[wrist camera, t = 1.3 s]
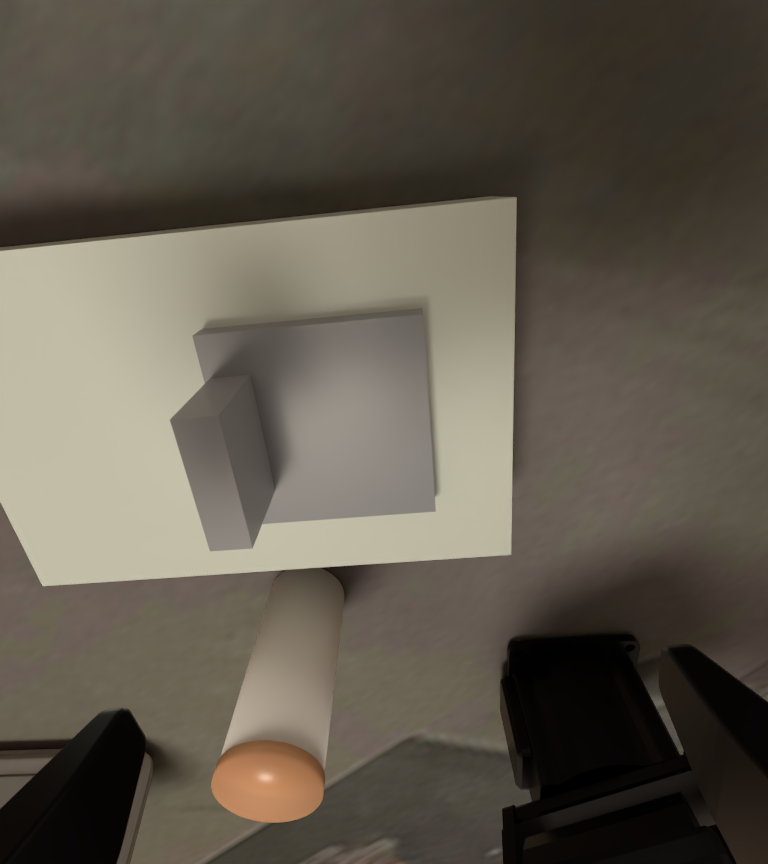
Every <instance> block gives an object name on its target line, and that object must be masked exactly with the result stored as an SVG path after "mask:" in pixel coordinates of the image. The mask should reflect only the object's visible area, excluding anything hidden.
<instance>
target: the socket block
mask: <svg viewBox="0 0 768 864" xmlns="http://www.w3.org/2000/svg"><path fill="white" fill-rule="evenodd" d="M516 214H517V197H497V196H488V197H478V198H469V199H459V200H449V201H440V202H430V203H421V204H411V205H402V206H392V207H382V208H373V209H363V210H354V211H344V212H335V213H325V214H316V215H306V216H296V217H287V218H277V219H268V220H258V221H249V222H239V223H229V224H220V225H210V226H201V227H191V228H182V229H172V230H163V231H153V232H143V233H134V234H124V235H115V236H105V237H96V238H86V239H76V240H67V241H57V242H48V243H38V244H29V245H19V246H10V247H0V502H1V504H2V506H3V508H4V510H5V512H6V514H7V516H8V518H9V520H10V522H11V524H12V526H13V528H14V530H15V532H16V534H17V536H18V538H19V540H20V542H21V544H22V546H23V548H24V550H25V552H26V554H27V556H28V558H29V560H30V562H31V564H32V566H33V568H34V570H35V572H36V574H37V576H38V578H39V580H40V582H41V584H42V586H53V585H67V584H82V583H97V582H112V581H127V580H142V579H157V578H172V577H187V576H202V575H216V574H231V573H246V572H261V571H276V570H291V569H306V568H321V567H336V566H351V565H365V564H380V563H395V562H410V561H425V560H440V559H455V558H470V557H485V556H500V555H511V526H512V463H513V401H514V339H515V277H516ZM420 308H422V310H423V314H424V329H425V345H426V362H427V378H428V394H429V410H430V426H431V443H432V459H433V475H434V491H435V507H436V512H423V513H409V514H395V515H382V516H368V517H354V518H340V519H326V520H312V521H298V522H285V523H271V524H262V526H261V528H260V531H259V534H258V536H257V539H256V541H255V544H254V546H253V549H239V550H224V551H210V550H209V547H208V543H207V540H206V537H205V533H204V530H203V527H202V524H201V520H200V517H199V514H198V511H197V507H196V504H195V501H194V497H193V494H192V491H191V488H190V484H189V481H188V478H187V475H186V471H185V468H184V465H183V461H182V458H181V455H180V452H179V448H178V445H177V442H176V438H175V435H174V432H173V429H172V425H171V422H170V419H171V418H172V417H173V416H174V415H175V414H176V413H177V412H178V411H179V410H180V409H181V408H182V407H183V406H184V405H185V404H186V402H187V401H188V400H189V399H190V398H191V397H192V396H193V395H194V394H195V393H196V392H197V391H198V390H199V389H200V388H201V387H202V386H203V385H204V384H205V383H204V379H203V375H202V371H201V367H200V364H199V360H198V356H197V352H196V348H195V345H194V341H193V337H192V336H193V335H194V334H195V333H197V332H198V331H200V330H201V329H206V328H217V327H228V326H238V325H249V324H260V323H271V322H281V321H292V320H303V319H313V318H324V317H335V316H345V315H356V314H367V313H377V312H388V311H399V310H409V309H420Z"/></svg>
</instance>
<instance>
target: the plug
mask: <svg viewBox="0 0 768 864" xmlns="http://www.w3.org/2000/svg"><path fill="white" fill-rule="evenodd" d="M344 597H345V595H344V589H343V587H342V585H341V583H340V581H339V580H338V579H337V578H336V577H335V576H334V575H332V574H331V573H330V572H328V571H326V570H324V569H321V568H306V569H291V570H286V571H284V572H282V573H281V574H280V575H279V576H278V577H277V578H276V579H275V581H274V583H273V585H272V588H271V592H270V595H269V598H268V602H267V605H266V608H265V612H264V615H263V618H262V622H261V625H260V628H259V631H258V635H257V638H256V641H255V645H254V648H253V651H252V655H251V658H250V661H249V664H248V668H247V671H246V674H245V678H244V681H243V684H242V688H241V691H240V694H239V698H238V701H237V704H236V707H235V711H234V714H233V717H232V721H231V724H230V727H229V731H228V734H227V737H226V740H225V744H224V747H223V750H222V754H221V757H220V758H219V760H218V762H217V765H216V768H215V772H214V775H213V778H212V783H211V788H212V792H213V794H214V796H215V798H216V799H217V801H218V802H219V803H220V804H221V805H222V806H223V807H225V808H226V809H227V810H229V811H231V812H232V813H234V814H236V815H239V816H241V817H244V818H247V819H250V820H255V821H261V822H287V821H293V820H297V819H300V818H302V817H305V816H307V815H309V814H310V813H312V812H313V811H314V810H315V809H317V807H318V806H319V805H320V803H321V801H322V798H323V792H324V783H325V772H324V771H325V762H326V753H327V745H328V736H329V727H330V719H331V710H332V701H333V693H334V684H335V675H336V667H337V658H338V649H339V641H340V632H341V623H342V615H343V606H344Z"/></svg>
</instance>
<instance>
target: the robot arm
mask: <svg viewBox="0 0 768 864" xmlns="http://www.w3.org/2000/svg"><path fill="white" fill-rule="evenodd" d="M639 650H640V644H639V643H638V641H637V639H636V638H635V636H633V635H628V634H627V635H610V636H592V637H575V638H558V639H541V640H524V641H514V642H512V643H510V644H509V646H508V650H507V676H504V677H503V678H502V679H501V681H500V711H501V716H502V721H503V726H504V730H505V735H506V740H507V745H508V749H509V754H510V759H511V764H512V768H513V773H514V778H515V783H516V785H517V786H518V787H519V788H520V789H521V790H530V794H531V799H532V802H530V803H527V804H524V805H520V806H517V807H515V806H514V805H512V806H509V807H506V808H503V809H502V815H503V829H502V845H503V864H768V702H767V701H766V700H765V699H763V698H762V697H761V696H759V695H758V694H757V693H755V692H754V691H753V690H751V689H750V688H749V687H747V686H746V685H745V684H743V683H742V682H741V681H739V680H738V679H737V678H735V677H734V676H733V675H731V674H730V673H729V672H727V671H726V670H725V669H723V668H722V667H721V666H719V665H718V664H717V663H715V662H714V661H713V660H711V659H710V658H709V657H707V656H706V655H705V654H703V653H702V652H701V651H699V650H698V649H697V648H695V647H693V646H691V645H689V644H680V645H672V646H665V647H664V648H663V649H662V651H661V658H660V670H659V688H660V692H661V695H662V698H663V700H664V703H665V705H666V708H667V710H668V713H669V715H670V717H671V720H672V722H673V725H674V727H675V730H676V732H677V735H678V737H679V740H680V742H681V744H682V747H683V749H684V752H683V753H684V754H683V755H680V753H679V751H678V750H677V748H676V746H675V744H674V742H673V740H672V738H671V736H670V734H669V732H668V730H667V728H666V726H665V724H664V722H663V720H662V718H661V716H660V715H659V713H658V711H657V709H656V707H655V705H654V703H653V701H652V699H651V697H650V695H649V693H648V691H647V689H646V687H645V685H644V683H643V681H642V680H641V678H640V676H639V674H638V672H637V670H636V668H637V662H638V656H639ZM145 752H146V738H145V735H144V733H143V731H142V730H141V728H140V726H139V725H138V723H137V721H136V720H135V718H134V716H133V715H132V713H131V712H130V710H129V709H127V708H116V709H108V710H104V711H102V712H101V713H99V714H98V715H97V716H96V717H95V718H94V719H93V720H91V721H90V722H89V723H88V724H87V725H86V726H85V727H84V728H83V729H82V730H81V731H80V732H79V733H78V734H77V735H76V736H75V737H74V738H73V739H72V740H71V741H70V742H69V743H68V744H67V745H66V746H65V747H63V748H62V749H61V750H60V751H59V752H58V753H57V754H56V755H55V756H54V757H53V758H52V759H51V760H50V761H49V762H48V763H47V764H46V765H45V766H44V767H43V768H42V769H41V770H40V771H39V772H38V773H37V774H36V775H34V776H33V777H32V778H31V779H30V780H29V781H28V782H27V783H26V784H25V785H24V786H23V787H22V788H21V789H20V790H19V791H18V792H17V793H16V794H15V795H14V796H13V797H12V798H11V799H10V800H9V801H8V802H7V803H5V804H4V805H3V806H2V807H1V808H0V864H117V861H118V858H119V855H120V852H121V848H122V844H123V841H124V837H125V833H126V829H127V825H128V821H129V817H130V813H131V809H132V805H133V801H134V797H135V793H136V789H137V784H138V780H139V776H140V772H141V768H142V764H143V760H144V756H145Z"/></svg>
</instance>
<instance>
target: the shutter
mask: <svg viewBox="0 0 768 864" xmlns="http://www.w3.org/2000/svg"><path fill="white" fill-rule="evenodd" d="M192 337H193V341H194V345H195V348H196V352H197V356H198V360H199V364H200V367H201V371H202V375H203V379H204V383H205V384H204V385H203V386H202V387H201V388H200V389H199V390H198V391H197V392H196V393H195V394H194V395H193V396H192V397H191V398H190V399H189V400H188V401H187V402H186V404H185V405H184V406H183V407H182V408H181V409H180V410H179V411H178V412H177V413H176V414H175V415H174V416H173V417H172V418H171V419H170V422H171V425H172V429H173V432H174V435H175V438H176V442H177V445H178V448H179V452H180V455H181V458H182V461H183V465H184V468H185V471H186V475H187V478H188V481H189V484H190V488H191V491H192V494H193V497H194V501H195V504H196V507H197V511H198V514H199V517H200V520H201V524H202V527H203V530H204V533H205V537H206V540H207V543H208V547H209V550H210V551H224V550H239V549H253V546H254V544H255V541H256V539H257V536H258V534H259V531H260V528H261V526H262V524H271V523H285V522H298V521H312V520H326V519H340V518H354V517H368V516H382V515H395V514H409V513H423V512H436V507H435V491H434V475H433V459H432V443H431V426H430V410H429V394H428V378H427V362H426V345H425V329H424V314H423V310H422V308H420V309H409V310H399V311H388V312H377V313H367V314H356V315H345V316H335V317H324V318H313V319H303V320H292V321H281V322H271V323H260V324H249V325H238V326H228V327H217V328H206V329H201V330H200V331H198V332H197V333H195V334H194V335H193V336H192Z"/></svg>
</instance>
